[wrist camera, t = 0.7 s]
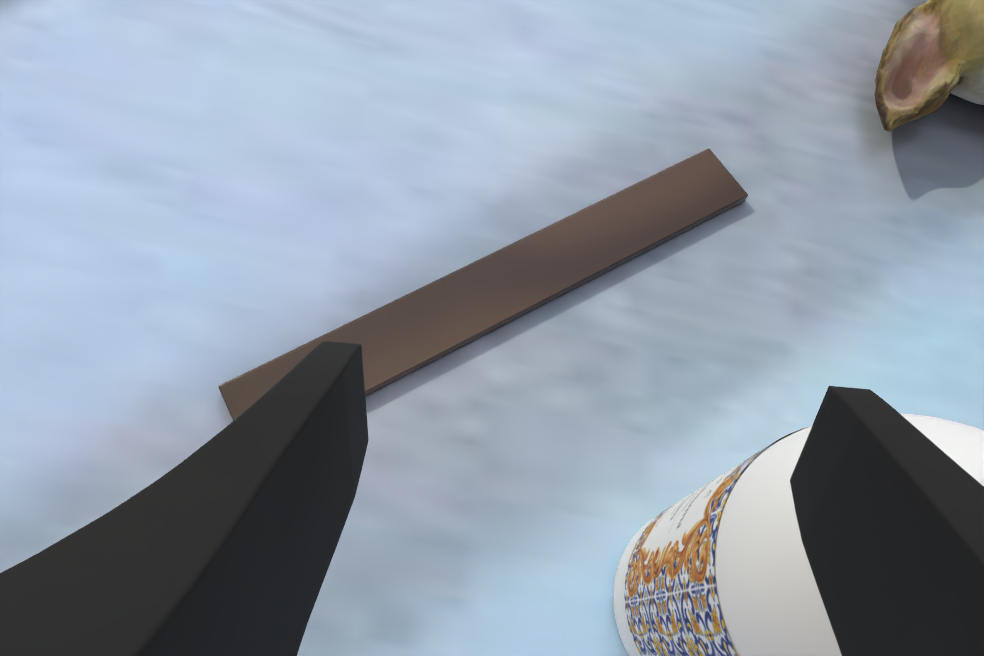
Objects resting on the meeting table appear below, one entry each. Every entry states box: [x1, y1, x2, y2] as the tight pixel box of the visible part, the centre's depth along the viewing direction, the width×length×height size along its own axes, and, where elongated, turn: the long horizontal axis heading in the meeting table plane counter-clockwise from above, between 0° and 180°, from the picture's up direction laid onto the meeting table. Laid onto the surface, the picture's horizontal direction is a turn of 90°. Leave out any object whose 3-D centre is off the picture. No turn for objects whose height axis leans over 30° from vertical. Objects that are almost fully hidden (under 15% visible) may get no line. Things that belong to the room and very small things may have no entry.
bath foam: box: [613, 414, 984, 656], centre depth 16 cm, size 7×7×20 cm
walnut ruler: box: [219, 149, 748, 421], centre depth 30 cm, size 3×24×1 cm, turn 120°
